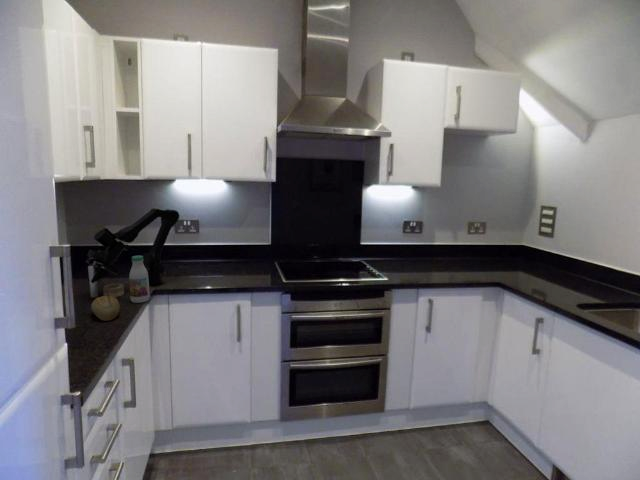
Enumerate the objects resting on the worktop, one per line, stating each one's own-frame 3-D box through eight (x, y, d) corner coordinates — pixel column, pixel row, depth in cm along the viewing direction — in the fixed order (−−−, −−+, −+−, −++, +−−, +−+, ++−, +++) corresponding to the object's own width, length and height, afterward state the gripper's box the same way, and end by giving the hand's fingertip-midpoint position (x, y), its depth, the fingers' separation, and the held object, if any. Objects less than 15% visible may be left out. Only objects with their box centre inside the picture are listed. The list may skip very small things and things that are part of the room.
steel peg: (95, 295, 181) (92, 264, 178) (99, 296, 180) (96, 265, 177) (89, 297, 178) (86, 266, 176) (93, 297, 177) (91, 266, 175)
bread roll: (113, 308, 169) (112, 289, 168) (125, 318, 158) (123, 298, 157) (87, 313, 163) (86, 294, 161) (98, 324, 152) (96, 304, 150)
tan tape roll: (115, 291, 191) (114, 282, 190) (127, 293, 188) (127, 285, 187) (100, 296, 183) (99, 287, 183) (113, 298, 180) (112, 289, 180)
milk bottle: (134, 297, 182) (131, 254, 178) (152, 297, 183) (149, 254, 179) (128, 303, 174) (124, 258, 171) (146, 303, 175) (143, 258, 171)
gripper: (88, 239, 183) (64, 268, 176) (110, 245, 173) (85, 275, 166) (106, 253, 191) (84, 281, 184) (128, 259, 180) (106, 289, 174)
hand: (89, 281), depth 177 cm, fingers closed on steel peg, 3 cm apart
